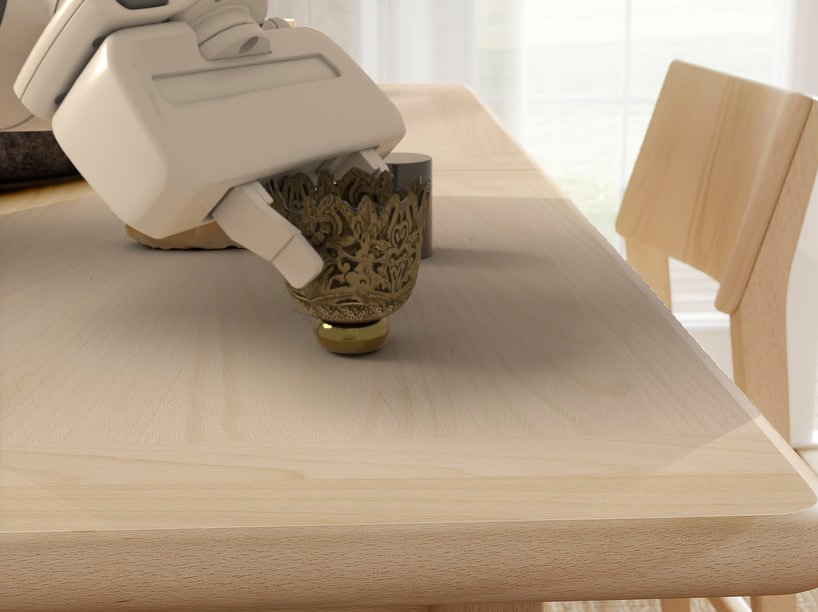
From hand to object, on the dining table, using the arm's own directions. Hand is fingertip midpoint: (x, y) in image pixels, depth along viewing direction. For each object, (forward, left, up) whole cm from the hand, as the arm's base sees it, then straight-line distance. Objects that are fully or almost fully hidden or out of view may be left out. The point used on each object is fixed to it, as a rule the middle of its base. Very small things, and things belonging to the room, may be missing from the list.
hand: (362, 257), depth 55 cm
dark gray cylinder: (-1, +20, -5) cm, 21 cm away
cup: (-1, 0, -5) cm, 5 cm away
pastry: (-14, +22, -5) cm, 27 cm away
